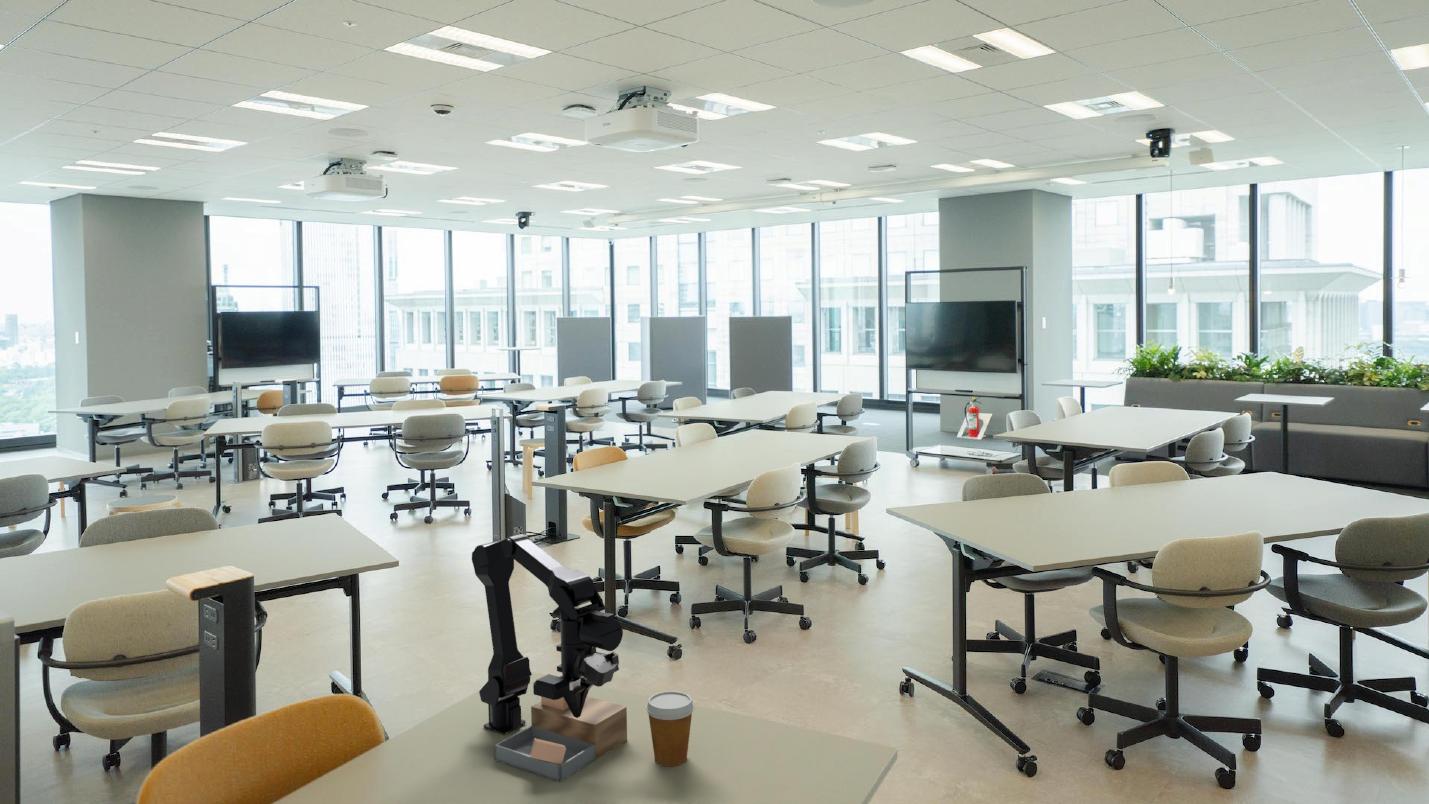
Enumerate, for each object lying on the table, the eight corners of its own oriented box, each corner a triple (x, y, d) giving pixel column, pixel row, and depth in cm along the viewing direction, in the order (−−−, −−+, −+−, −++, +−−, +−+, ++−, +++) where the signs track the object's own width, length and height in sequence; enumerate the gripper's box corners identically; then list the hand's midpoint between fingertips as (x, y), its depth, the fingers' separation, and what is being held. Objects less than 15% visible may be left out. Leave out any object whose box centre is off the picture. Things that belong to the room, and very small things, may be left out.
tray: (494, 760, 178) (494, 745, 178) (531, 739, 187) (531, 725, 187) (560, 782, 169) (559, 766, 169) (596, 759, 178) (595, 744, 178)
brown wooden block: (531, 739, 187) (531, 706, 186) (564, 721, 195) (563, 690, 195) (596, 759, 178) (595, 725, 177) (627, 739, 186) (626, 706, 186)
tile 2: (564, 745, 177) (559, 761, 176) (534, 738, 176) (529, 754, 176) (566, 748, 172) (561, 764, 171) (535, 740, 171) (530, 757, 170)
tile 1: (541, 704, 187) (541, 690, 187) (560, 694, 193) (560, 680, 192) (563, 710, 184) (563, 696, 184) (582, 700, 189) (582, 686, 189)
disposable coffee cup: (688, 772, 172) (688, 711, 171) (640, 768, 174) (639, 707, 173) (699, 750, 182) (699, 692, 181) (653, 746, 183) (653, 688, 182)
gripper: (575, 662, 165) (577, 745, 167) (637, 633, 181) (638, 708, 182) (530, 651, 171) (532, 731, 173) (594, 624, 187) (595, 697, 188)
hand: (577, 716), depth 179 cm, fingers closed
